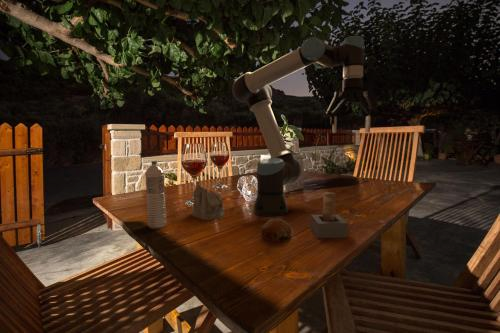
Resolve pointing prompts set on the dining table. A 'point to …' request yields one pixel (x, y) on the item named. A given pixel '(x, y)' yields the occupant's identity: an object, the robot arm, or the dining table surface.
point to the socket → (329, 227)
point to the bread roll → (276, 230)
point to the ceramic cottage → (207, 204)
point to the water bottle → (155, 196)
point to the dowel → (328, 207)
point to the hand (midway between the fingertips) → (350, 132)
